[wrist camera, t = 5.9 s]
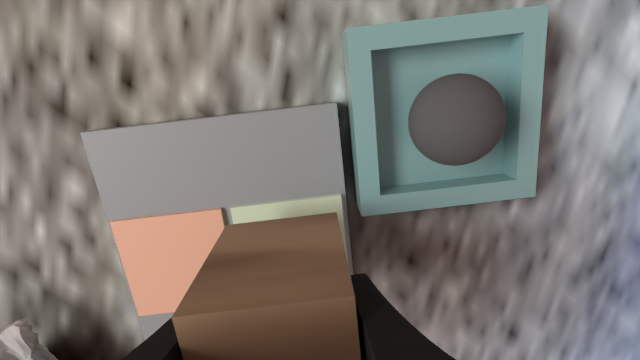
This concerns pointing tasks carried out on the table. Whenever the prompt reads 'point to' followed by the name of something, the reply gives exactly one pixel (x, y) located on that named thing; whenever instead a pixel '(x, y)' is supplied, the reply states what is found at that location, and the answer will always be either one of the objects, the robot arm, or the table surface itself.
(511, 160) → the dish
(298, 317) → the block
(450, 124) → the ball
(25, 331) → the packaged food
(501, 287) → the table surface
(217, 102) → the table surface
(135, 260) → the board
